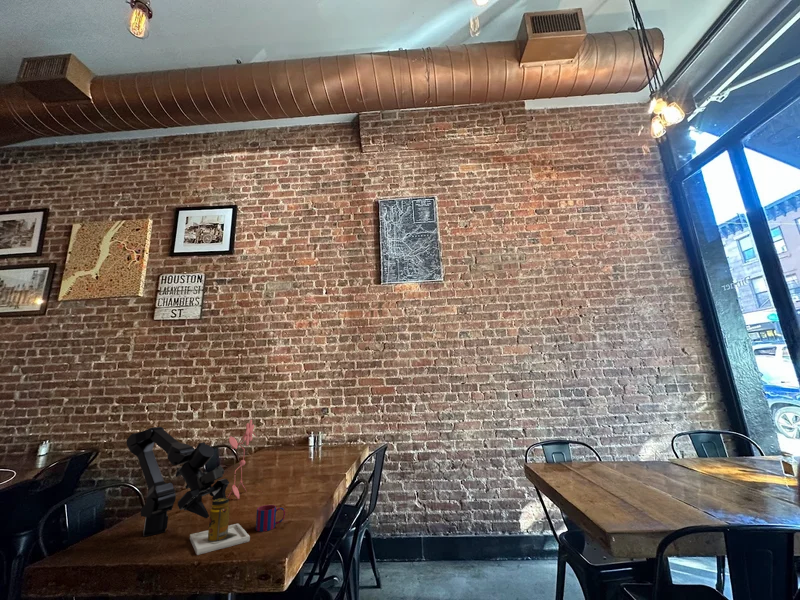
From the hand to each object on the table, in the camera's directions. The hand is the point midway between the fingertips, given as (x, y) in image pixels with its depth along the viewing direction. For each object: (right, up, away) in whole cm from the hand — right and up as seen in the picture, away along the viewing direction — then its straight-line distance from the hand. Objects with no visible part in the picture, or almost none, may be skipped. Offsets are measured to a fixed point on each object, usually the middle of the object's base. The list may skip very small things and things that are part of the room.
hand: (217, 512), depth 123 cm
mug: (+15, -10, +8) cm, 20 cm away
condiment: (+2, -8, -1) cm, 8 cm away
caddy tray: (+2, -8, -2) cm, 9 cm away
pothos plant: (-11, -21, +49) cm, 54 cm away
